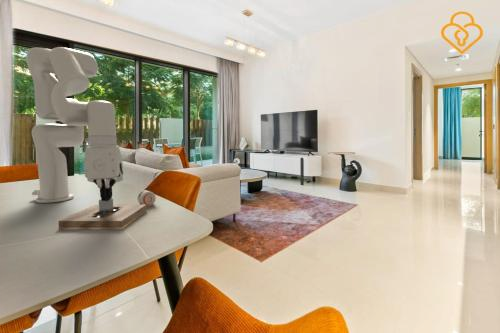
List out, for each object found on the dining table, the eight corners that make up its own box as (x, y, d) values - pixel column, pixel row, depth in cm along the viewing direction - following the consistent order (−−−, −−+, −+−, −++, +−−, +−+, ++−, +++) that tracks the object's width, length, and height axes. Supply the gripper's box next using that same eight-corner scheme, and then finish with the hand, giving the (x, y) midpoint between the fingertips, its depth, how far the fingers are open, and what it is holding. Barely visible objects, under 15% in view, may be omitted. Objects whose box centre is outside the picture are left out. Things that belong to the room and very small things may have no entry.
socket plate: (58, 229, 73) (58, 220, 73) (96, 211, 91) (95, 204, 91) (122, 229, 73) (121, 220, 73) (146, 211, 91) (146, 204, 91)
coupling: (108, 213, 87) (107, 196, 86) (120, 213, 87) (119, 196, 86) (92, 222, 78) (91, 203, 77) (105, 222, 78) (104, 203, 77)
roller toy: (136, 206, 99) (135, 191, 98) (152, 203, 103) (151, 188, 102) (141, 208, 96) (140, 193, 95) (157, 205, 100) (156, 190, 99)
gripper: (70, 142, 76) (75, 202, 78) (121, 142, 76) (124, 202, 78) (86, 141, 83) (90, 197, 85) (132, 141, 83) (135, 197, 85)
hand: (106, 199), depth 81 cm, fingers closed
